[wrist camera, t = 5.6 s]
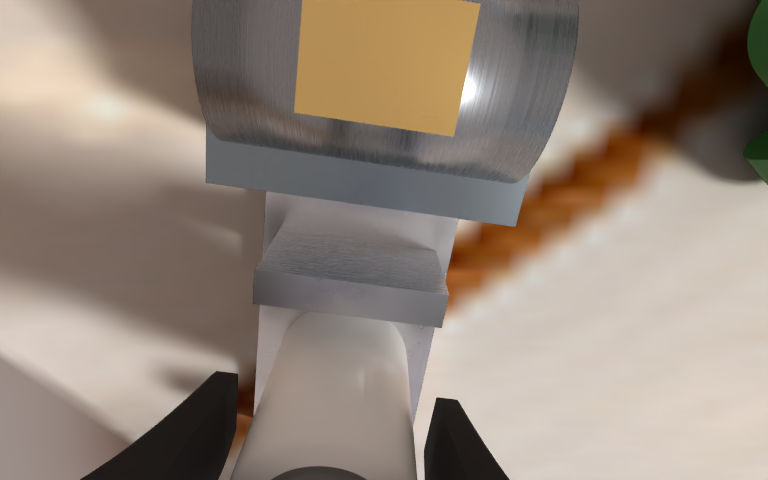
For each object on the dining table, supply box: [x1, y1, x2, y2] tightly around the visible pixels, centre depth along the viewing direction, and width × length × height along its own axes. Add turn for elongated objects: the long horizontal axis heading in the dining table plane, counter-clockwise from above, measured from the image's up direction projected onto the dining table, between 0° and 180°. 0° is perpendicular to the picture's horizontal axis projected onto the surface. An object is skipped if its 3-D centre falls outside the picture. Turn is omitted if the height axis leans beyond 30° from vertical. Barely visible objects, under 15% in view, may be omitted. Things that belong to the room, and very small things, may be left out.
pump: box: [230, 311, 417, 480], centre depth 13 cm, size 4×4×7 cm
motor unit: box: [192, 0, 579, 424], centre depth 12 cm, size 17×7×7 cm, turn 172°
